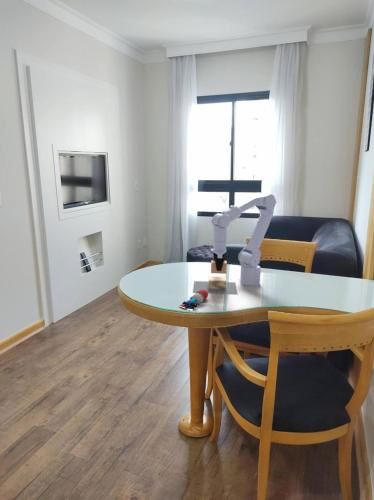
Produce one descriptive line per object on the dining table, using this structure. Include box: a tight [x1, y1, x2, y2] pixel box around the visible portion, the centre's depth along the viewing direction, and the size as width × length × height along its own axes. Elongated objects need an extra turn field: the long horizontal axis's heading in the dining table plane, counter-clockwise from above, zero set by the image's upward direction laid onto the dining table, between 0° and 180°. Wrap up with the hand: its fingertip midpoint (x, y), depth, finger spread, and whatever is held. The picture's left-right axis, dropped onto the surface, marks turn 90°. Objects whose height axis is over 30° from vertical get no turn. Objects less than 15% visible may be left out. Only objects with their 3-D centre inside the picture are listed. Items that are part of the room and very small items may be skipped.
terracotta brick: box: [210, 260, 228, 275], centre depth 166 cm, size 7×4×5 cm, turn 87°
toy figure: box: [179, 290, 209, 308], centre depth 150 cm, size 8×5×15 cm
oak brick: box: [208, 275, 227, 289], centre depth 169 cm, size 8×6×4 cm
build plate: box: [192, 280, 238, 295], centre depth 168 cm, size 20×16×1 cm
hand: (218, 269), depth 166 cm, fingers closed on terracotta brick, 4 cm apart
